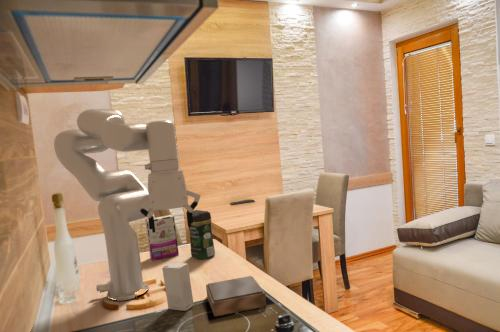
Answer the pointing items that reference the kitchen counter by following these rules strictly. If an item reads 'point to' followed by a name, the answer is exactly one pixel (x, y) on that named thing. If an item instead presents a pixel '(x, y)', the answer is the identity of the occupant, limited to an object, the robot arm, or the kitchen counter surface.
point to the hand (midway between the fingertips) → (171, 228)
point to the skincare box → (178, 286)
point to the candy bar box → (162, 238)
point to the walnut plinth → (235, 295)
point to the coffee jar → (201, 235)
